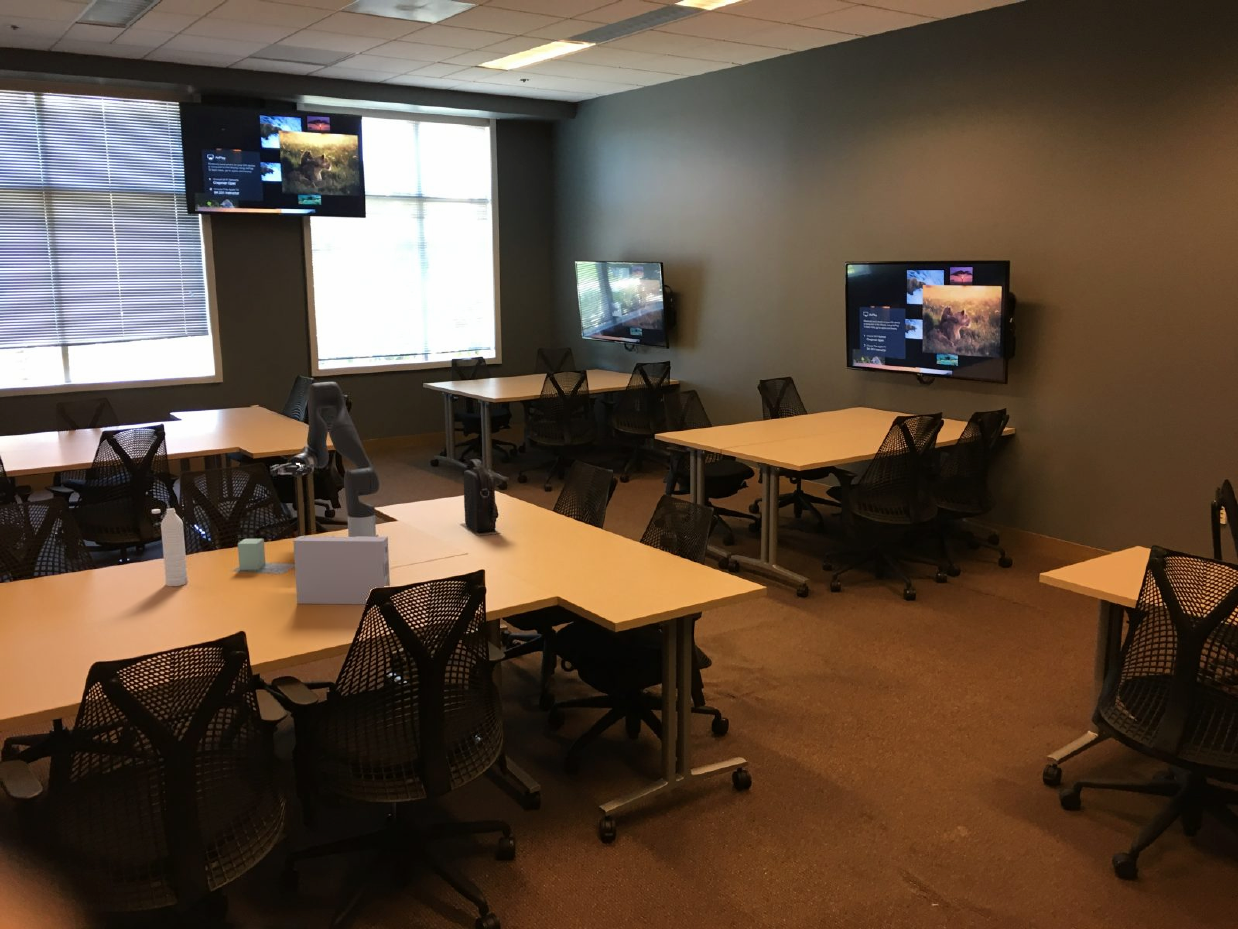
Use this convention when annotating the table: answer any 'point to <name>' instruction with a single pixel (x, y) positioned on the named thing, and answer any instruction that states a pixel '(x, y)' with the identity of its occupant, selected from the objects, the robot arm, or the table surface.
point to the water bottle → (173, 548)
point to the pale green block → (251, 554)
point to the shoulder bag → (479, 500)
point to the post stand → (270, 568)
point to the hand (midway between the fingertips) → (285, 473)
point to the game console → (339, 568)
